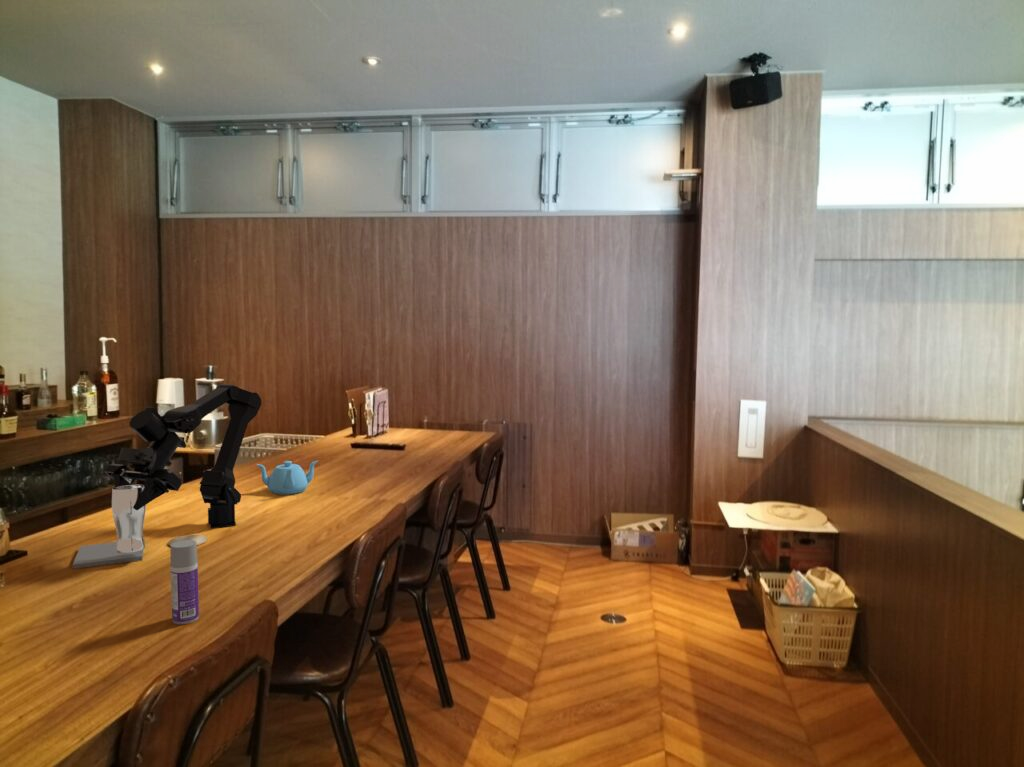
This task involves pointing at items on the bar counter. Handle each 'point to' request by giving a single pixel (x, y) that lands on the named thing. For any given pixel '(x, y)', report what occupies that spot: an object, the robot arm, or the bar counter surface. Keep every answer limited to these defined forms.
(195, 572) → the container
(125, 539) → the beer glass
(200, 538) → the metal coaster
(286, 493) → the teapot
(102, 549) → the slate board
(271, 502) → the bar counter surface
